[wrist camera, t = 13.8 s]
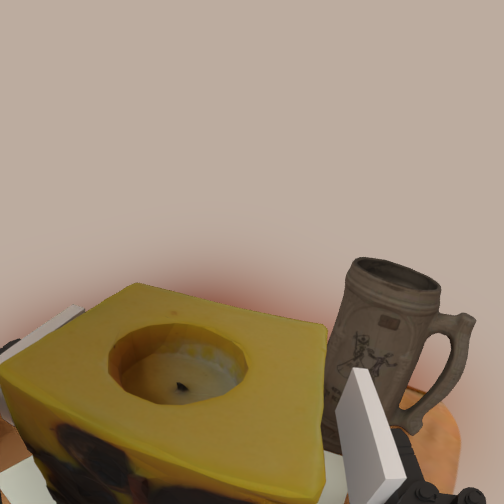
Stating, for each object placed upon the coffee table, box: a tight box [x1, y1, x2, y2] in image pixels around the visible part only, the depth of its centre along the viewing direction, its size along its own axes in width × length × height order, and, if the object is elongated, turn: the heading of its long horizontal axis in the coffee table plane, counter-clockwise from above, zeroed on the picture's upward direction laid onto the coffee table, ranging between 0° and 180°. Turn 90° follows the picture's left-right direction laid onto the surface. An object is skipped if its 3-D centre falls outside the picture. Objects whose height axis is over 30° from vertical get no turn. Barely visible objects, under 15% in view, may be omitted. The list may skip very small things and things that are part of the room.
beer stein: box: [320, 257, 476, 454], centre depth 29 cm, size 15×10×20 cm
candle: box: [0, 283, 328, 504], centre depth 12 cm, size 10×10×10 cm
